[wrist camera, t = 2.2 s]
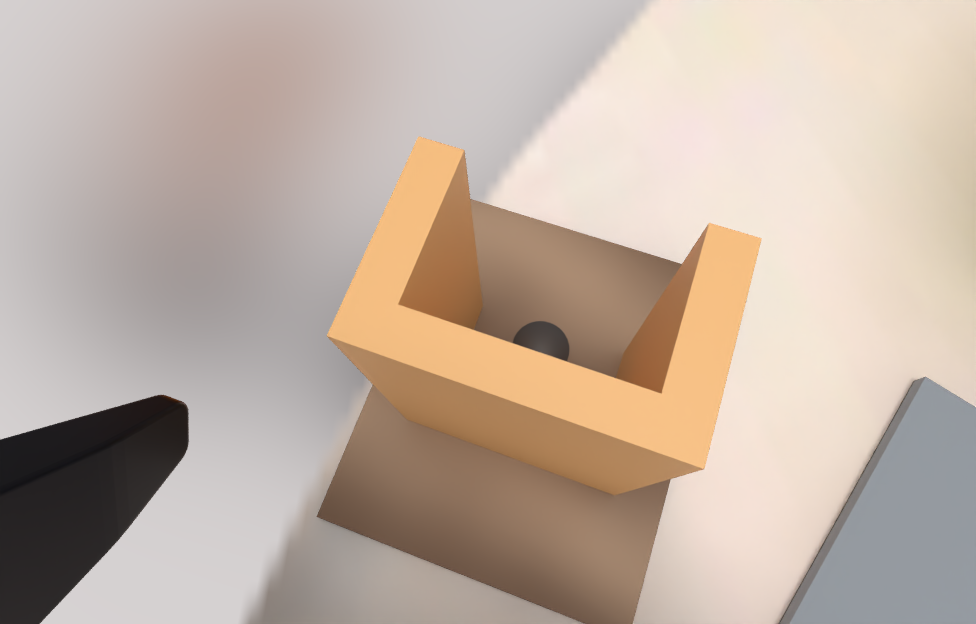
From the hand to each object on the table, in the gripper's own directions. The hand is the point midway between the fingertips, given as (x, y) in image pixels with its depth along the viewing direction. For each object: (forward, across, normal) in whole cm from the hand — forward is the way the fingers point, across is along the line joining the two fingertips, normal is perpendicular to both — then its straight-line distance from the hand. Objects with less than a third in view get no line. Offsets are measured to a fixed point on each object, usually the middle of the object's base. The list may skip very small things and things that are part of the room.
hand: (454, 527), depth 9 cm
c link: (+11, 0, +4) cm, 12 cm away
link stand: (+11, 0, +5) cm, 12 cm away
